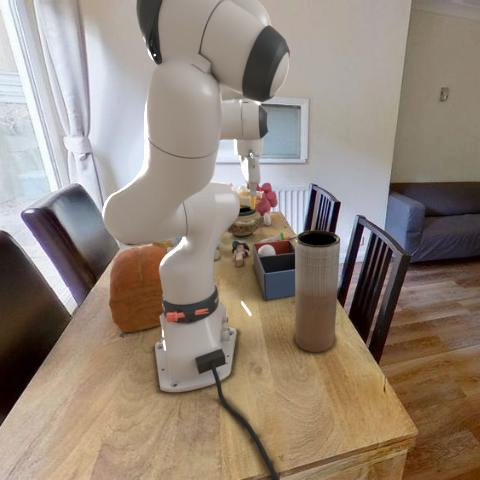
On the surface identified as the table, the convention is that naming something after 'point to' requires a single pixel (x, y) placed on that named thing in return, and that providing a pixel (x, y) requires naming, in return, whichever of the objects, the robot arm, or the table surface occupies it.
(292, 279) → the sorting bins
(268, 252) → the lollipop
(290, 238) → the scissors
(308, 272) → the planter
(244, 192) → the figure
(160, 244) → the figurine
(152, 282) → the bread
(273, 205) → the toy
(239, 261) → the toy figure
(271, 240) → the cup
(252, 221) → the ceramic bowl
